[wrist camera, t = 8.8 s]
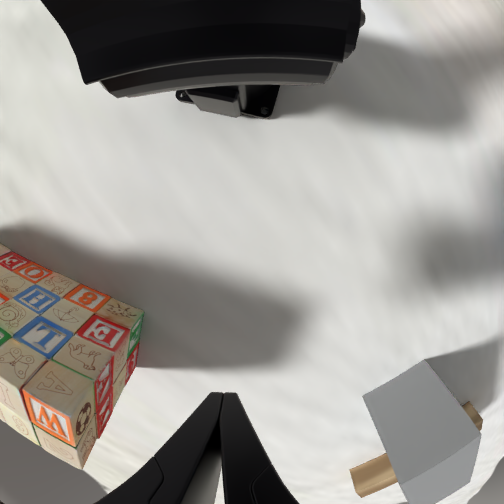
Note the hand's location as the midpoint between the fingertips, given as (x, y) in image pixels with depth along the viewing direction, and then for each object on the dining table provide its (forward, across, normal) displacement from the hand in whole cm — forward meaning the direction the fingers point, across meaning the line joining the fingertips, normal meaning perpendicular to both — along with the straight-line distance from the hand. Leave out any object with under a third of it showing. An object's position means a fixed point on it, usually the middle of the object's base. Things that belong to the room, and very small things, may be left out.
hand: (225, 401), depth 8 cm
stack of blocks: (+12, +18, +2) cm, 22 cm away
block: (+12, -17, +17) cm, 27 cm away
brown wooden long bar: (+12, -21, +24) cm, 35 cm away
